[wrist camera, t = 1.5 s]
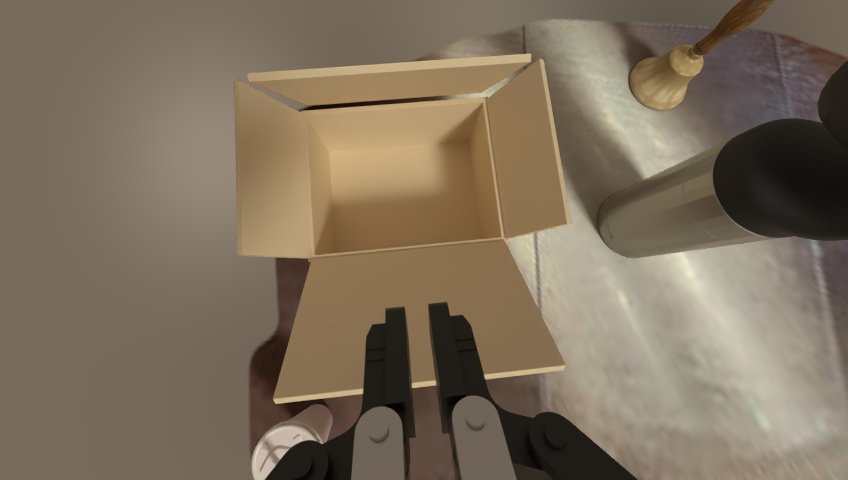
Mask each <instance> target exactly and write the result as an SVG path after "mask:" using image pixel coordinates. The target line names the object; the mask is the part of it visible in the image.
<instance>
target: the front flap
mask: <svg viewBox="0 0 848 480" xmlns="http://www.w3.org/2000/svg"><path fill="white" fill-rule="evenodd" d="M530 62H531V54H516V55H502V56H488V57H474V58H459V59H445V60H431V61H416V62H402V63H388V64H373V65H359V66H346V67H331V68H316V69H302V70H287V71H273V72H260V73H247V77H248V81H249V82H250V83H253V84H255V85H257V86H260V87H262V88H265V89H267V90H270V91H272V92H275V93H277V94H280V95H282V96H284V97H287V98H289V99H292V100H295V101H297V102H299V103H302V104H304V105H307V106H310V105H324V104H337V103H350V102H364V101H377V100H390V99H404V98H417V97H430V96H444V95H457V94H470V93H481V92H483V91H485V90H486V89H488V88H489V87H491V86H493V85H494V84H496V83H498V82H499V81H501V80H502V79H504V78H506V77H507V76H509V75H511V74H512V73H514V72H515V71H517V70H519V69H520V68H522V67H524V66H525V65H527V64H528V63H530Z"/></svg>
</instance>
